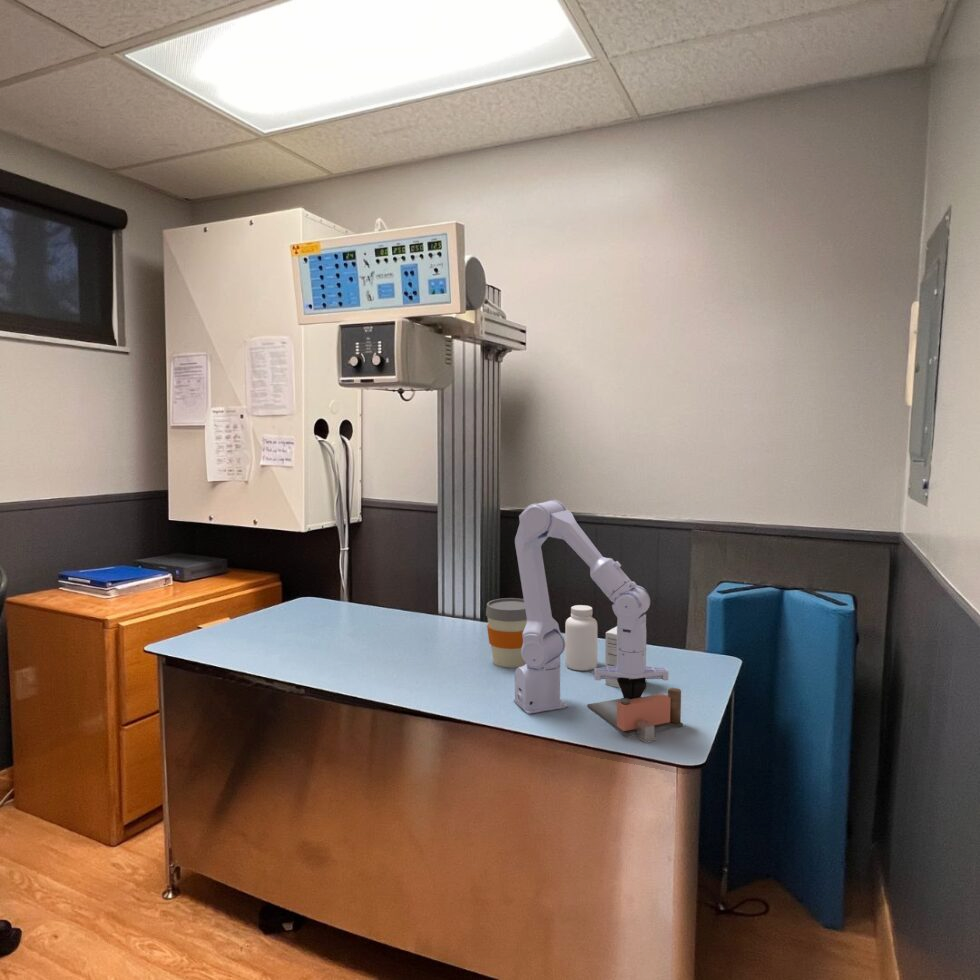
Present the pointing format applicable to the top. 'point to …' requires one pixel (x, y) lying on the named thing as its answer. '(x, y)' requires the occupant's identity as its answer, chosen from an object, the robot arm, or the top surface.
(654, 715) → the rail
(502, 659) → the reusable coffee cup
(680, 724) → the peg mounting fixture
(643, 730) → the block
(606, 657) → the supplement box
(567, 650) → the pill bottle
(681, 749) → the top surface
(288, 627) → the top surface
